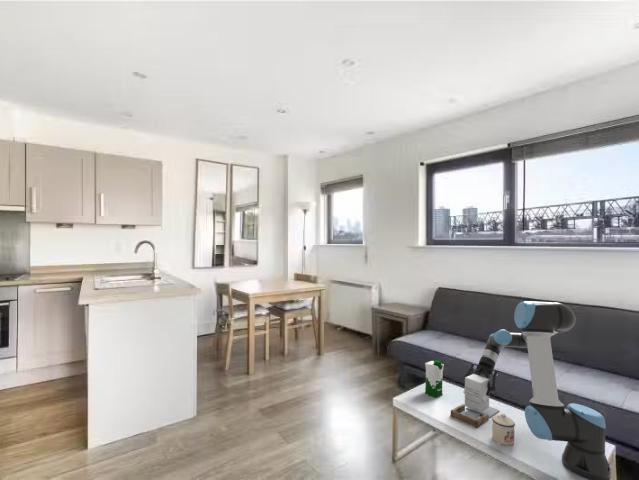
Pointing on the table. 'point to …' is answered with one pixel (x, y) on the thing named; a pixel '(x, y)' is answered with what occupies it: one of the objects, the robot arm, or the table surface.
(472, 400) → the supplement box
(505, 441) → the teacup with lid
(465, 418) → the walnut cradle
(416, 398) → the table surface
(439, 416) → the table surface
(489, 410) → the slate mat
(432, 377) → the milk carton
